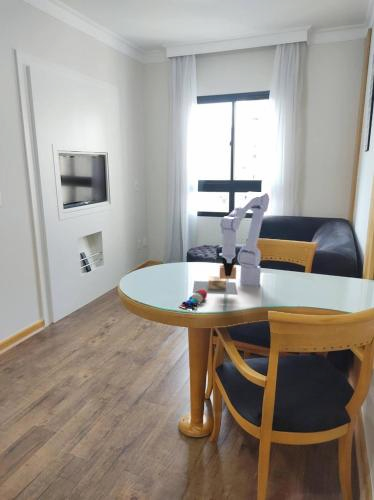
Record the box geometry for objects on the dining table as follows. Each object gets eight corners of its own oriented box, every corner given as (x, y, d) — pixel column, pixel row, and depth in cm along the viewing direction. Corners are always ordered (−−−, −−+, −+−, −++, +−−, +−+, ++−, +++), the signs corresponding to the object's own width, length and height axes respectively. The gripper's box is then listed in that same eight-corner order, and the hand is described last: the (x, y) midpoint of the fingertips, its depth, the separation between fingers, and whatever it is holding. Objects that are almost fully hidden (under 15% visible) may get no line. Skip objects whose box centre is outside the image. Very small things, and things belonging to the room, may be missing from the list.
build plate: (235, 283, 176) (235, 282, 176) (237, 295, 160) (237, 294, 160) (194, 281, 177) (194, 281, 177) (192, 293, 161) (192, 292, 161)
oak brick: (225, 284, 172) (225, 276, 171) (225, 289, 166) (226, 281, 165) (208, 284, 172) (208, 276, 171) (208, 288, 167) (208, 280, 166)
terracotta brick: (235, 276, 161) (235, 265, 160) (235, 279, 158) (236, 268, 156) (219, 275, 162) (219, 264, 160) (219, 278, 158) (220, 267, 157)
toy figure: (193, 315, 143) (212, 298, 154) (191, 304, 142) (211, 288, 153) (178, 312, 148) (198, 295, 159) (176, 301, 146) (196, 285, 157)
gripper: (219, 240, 163) (218, 268, 167) (220, 248, 149) (219, 279, 152) (234, 240, 163) (233, 269, 166) (237, 248, 149) (235, 279, 152)
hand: (227, 274), depth 159 cm, fingers closed on terracotta brick, 4 cm apart
